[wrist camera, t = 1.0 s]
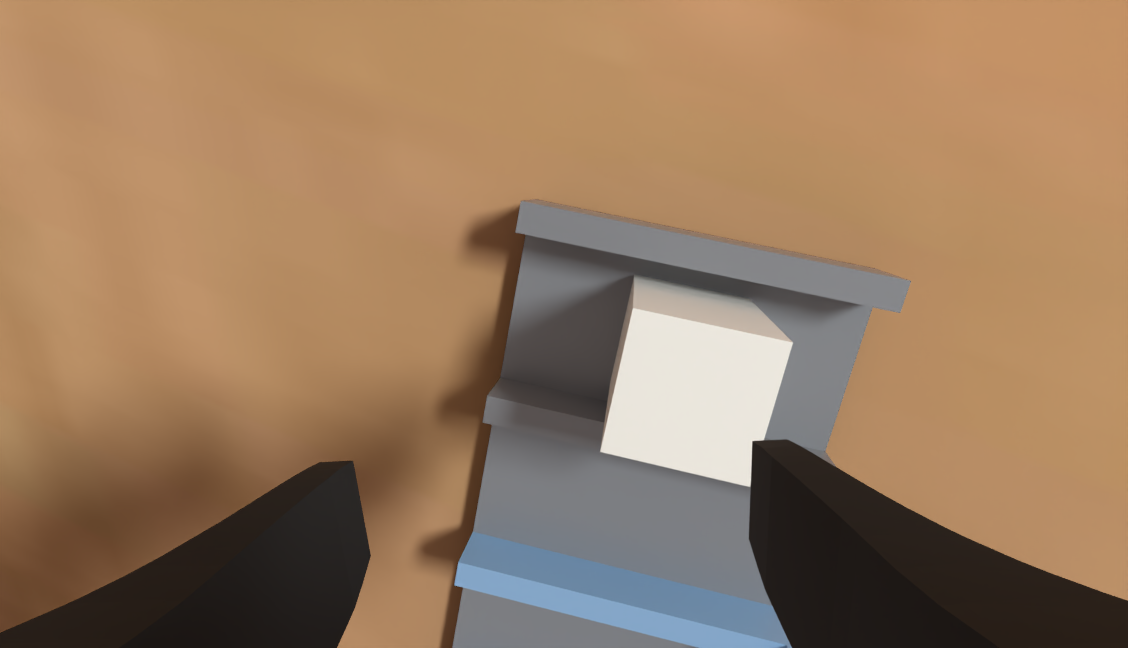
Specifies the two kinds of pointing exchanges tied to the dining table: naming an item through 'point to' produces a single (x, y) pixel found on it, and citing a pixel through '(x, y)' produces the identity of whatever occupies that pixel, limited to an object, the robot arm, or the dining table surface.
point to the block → (693, 380)
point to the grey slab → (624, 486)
